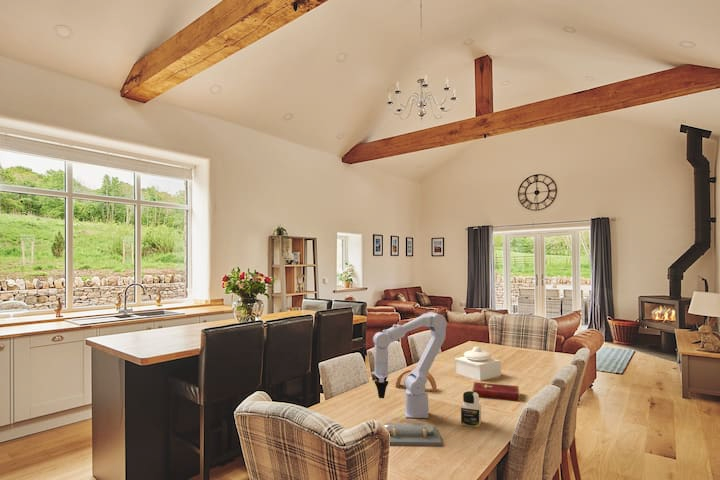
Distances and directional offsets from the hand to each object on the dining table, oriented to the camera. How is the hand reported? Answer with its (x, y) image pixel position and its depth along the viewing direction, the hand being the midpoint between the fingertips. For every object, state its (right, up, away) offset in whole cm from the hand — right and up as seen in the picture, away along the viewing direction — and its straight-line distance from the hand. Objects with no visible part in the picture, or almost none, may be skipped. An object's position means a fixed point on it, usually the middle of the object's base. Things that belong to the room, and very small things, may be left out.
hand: (381, 394), depth 175 cm
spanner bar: (+9, -8, -19) cm, 22 cm away
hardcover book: (+57, -11, +28) cm, 64 cm away
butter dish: (+57, -12, +63) cm, 86 cm away
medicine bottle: (+36, -9, -6) cm, 37 cm away
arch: (+19, -11, +39) cm, 45 cm away
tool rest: (+9, -9, -19) cm, 23 cm away
